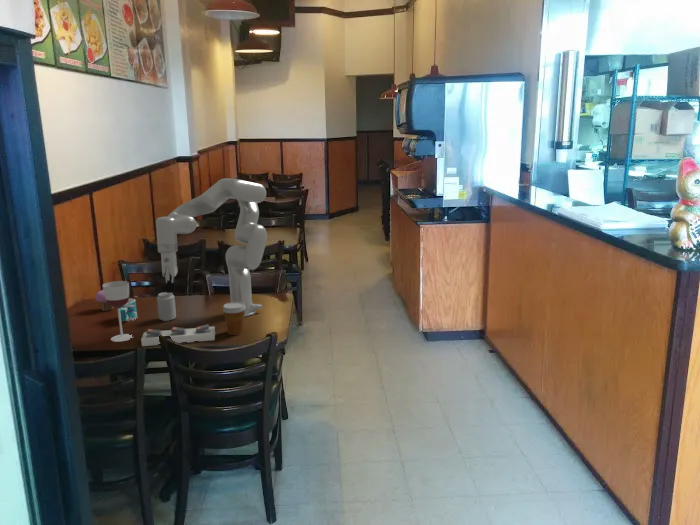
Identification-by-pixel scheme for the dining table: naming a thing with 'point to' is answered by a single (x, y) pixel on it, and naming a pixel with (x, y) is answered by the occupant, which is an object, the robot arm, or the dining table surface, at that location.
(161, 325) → the dining table surface
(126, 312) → the mug
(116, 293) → the wineglass
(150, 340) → the power strip
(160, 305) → the can
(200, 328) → the rocker
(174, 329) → the rocker middle
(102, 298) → the cupcake
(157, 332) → the rocker
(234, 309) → the disposable coffee cup
